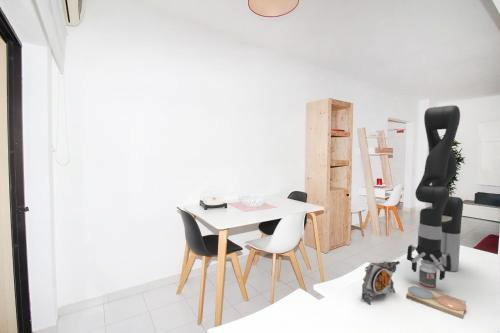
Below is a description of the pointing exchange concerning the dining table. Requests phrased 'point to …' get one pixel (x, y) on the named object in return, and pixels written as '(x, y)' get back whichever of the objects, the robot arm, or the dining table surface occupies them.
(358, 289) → the dining table surface
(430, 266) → the pill bottle
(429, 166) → the robot arm
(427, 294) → the grey pad
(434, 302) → the board
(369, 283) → the meal
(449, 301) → the terracotta pad
